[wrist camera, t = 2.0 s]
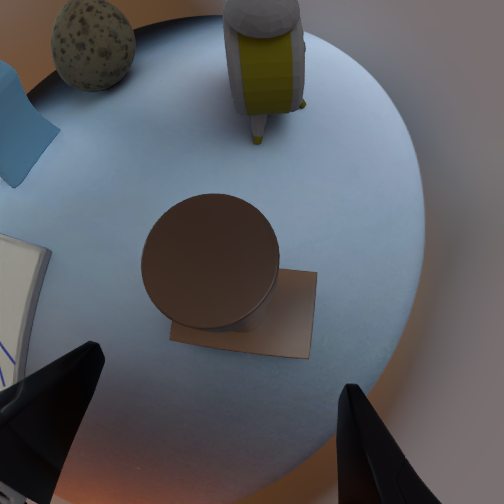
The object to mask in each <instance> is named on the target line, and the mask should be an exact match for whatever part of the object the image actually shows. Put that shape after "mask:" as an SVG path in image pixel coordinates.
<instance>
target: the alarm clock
mask: <svg viewBox="0 0 504 504" xmlns="http://www.w3.org/2000/svg"><path fill="white" fill-rule="evenodd" d="M223 28H224V40H225V50H226V58H227V66H228V74H229V81H230V87H231V93H232V98H233V103H234V106H235V109H236V112H237V113H239V114H240V115H247V116H250V122H251V128H252V134H253V141H254V143H255V144H261V142H262V138H263V134H264V129H265V125H266V120H267V116H268V114H281V113H289V112H294V111H296V110H297V109H298V108H299V106H300V107H302V108H304V107H305V106H306V102H305V101H304V99H303V98H302V97H303V90H304V81H305V50H306V48H305V42H304V40H303V29H302V25H301V19H300V9H299V4H298V1H297V0H223Z"/></svg>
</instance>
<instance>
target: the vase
mask: <svg viewBox="0 0 504 504" xmlns="http://www.w3.org/2000/svg"><path fill="white" fill-rule="evenodd" d="M59 131H60V129H58V128H57V127H56V126H54V125H53V124H51V123H50V122H49V121H47V120H46V119H45V118H44V117H42V116H41V115H40V114H39V113H38V112H37V111H36V110H35V108H34V107H33V106H32V104H31V103H30V101H29V99H28V98H27V96H26V94H25V92H24V89H23V87H22V85H21V82H20V79H19V77H18V74H17V73H16V71H15V70H14V68H13V67H11V66H10V65H8V64H6V63H5V62H3V61H1V60H0V176H1V177H2V178H3V179H4V180H5V181H6V182H7V183H8V184H9V185H10V186H11V187H12V188H15V187H17V186H18V185H19V184H20V183H21V182H22V181H23V179H24V178H25V177H26V175H27V174H28V172H29V171H30V169H31V168H32V167H33V165H34V164H35V162H36V161H37V160H38V158H39V157H40V156H41V154H42V153H43V152H44V150H45V149H46V148H47V146H48V145H49V144H50V143H51V141H52V140H53V139H54V138H55V136H56V135H57V134H58V133H59Z"/></svg>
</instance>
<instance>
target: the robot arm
mask: <svg viewBox="0 0 504 504" xmlns="http://www.w3.org/2000/svg"><path fill="white" fill-rule="evenodd" d="M104 363H105V357H104V354H103V352H102V349H101V347H100V345H99V344H98V343H96V342H93V341H88V342H86V343H85V344H83V345H81V346H79V347H78V348H76V349H74V350H72V351H71V352H69V353H67V354H65V355H64V356H62V357H60V358H59V359H57V360H55V361H53V362H52V363H50V364H48V365H46V366H45V367H43V368H41V369H40V370H38V371H36V372H34V373H33V374H31V375H29V376H28V377H26V378H24V379H23V380H21V381H19V382H17V383H15V384H14V385H12V386H10V387H8V388H6V389H4V390H2V391H0V504H27V503H26V502H25V501H26V499H27V498H28V499H31V500H32V501H34V502H36V503H37V504H50V501H51V499H52V496H53V493H54V490H55V487H56V484H57V481H58V479H59V476H60V473H61V470H62V468H63V465H64V462H65V460H66V457H67V455H68V452H69V450H70V447H71V445H72V442H73V440H74V437H75V435H76V433H77V430H78V428H79V426H80V423H81V421H82V419H83V417H84V414H85V412H86V410H87V408H88V405H89V403H90V401H91V399H92V397H93V394H94V392H95V389H96V386H97V383H98V380H99V377H100V374H101V372H102V369H103V366H104ZM336 445H337V464H338V500H339V501H338V504H442V503H441V502H440V501H439V500H438V499H437V498H436V497H435V496H434V494H433V493H432V492H431V491H430V489H428V487H427V486H426V485H425V484H424V482H423V481H422V480H421V479H420V477H419V476H418V475H417V473H416V472H415V470H414V469H413V467H412V466H411V464H410V463H409V461H408V460H407V459H406V458H405V455H404V454H403V452H402V451H401V449H400V448H399V446H398V444H397V443H396V441H395V440H394V438H393V437H392V435H391V434H390V432H389V431H388V429H387V428H386V426H385V425H384V423H383V422H382V420H381V419H380V417H379V416H378V414H377V412H376V411H375V410H374V408H373V406H372V405H371V404H370V402H369V400H368V399H367V397H366V396H365V394H364V393H363V391H362V390H361V388H360V387H359V385H357V384H346V385H345V386H344V388H343V390H342V392H341V395H340V397H339V401H338V419H337V436H336Z"/></svg>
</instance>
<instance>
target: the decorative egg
mask: <svg viewBox="0 0 504 504" xmlns="http://www.w3.org/2000/svg"><path fill="white" fill-rule="evenodd" d="M135 48H136V43H135V36H134V32H133V29H132V27H131V25H130V23H129V21H128V20H127V18H126V17H125V16H124V14H123V13H122V12H121V11H120V10H119V9H118V8H116V7H115V6H114V5H112V4H111V3H109V2H107V1H105V0H70V1H68V2H67V3H66V4H65V5H64V6H63V7H62V9H61V10H60V12H59V13H58V15H57V17H56V20H55V23H54V26H53V30H52V37H51V51H52V57H53V62H54V65H55V67H56V70H57V72H58V73H59V75H60V76H61V78H62V79H63V80H64V81H65V82H66V83H67V84H68V85H70V86H72V87H73V88H76V89H78V90H81V91H87V92H96V91H101V90H104V89H107V88H109V87H111V86H113V85H114V84H116V83H118V82H119V81H120V80H121V79H122V78H123V77H124V76H125V74H126V73H127V71H128V70H129V68H130V66H131V64H132V62H133V59H134V55H135Z"/></svg>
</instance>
